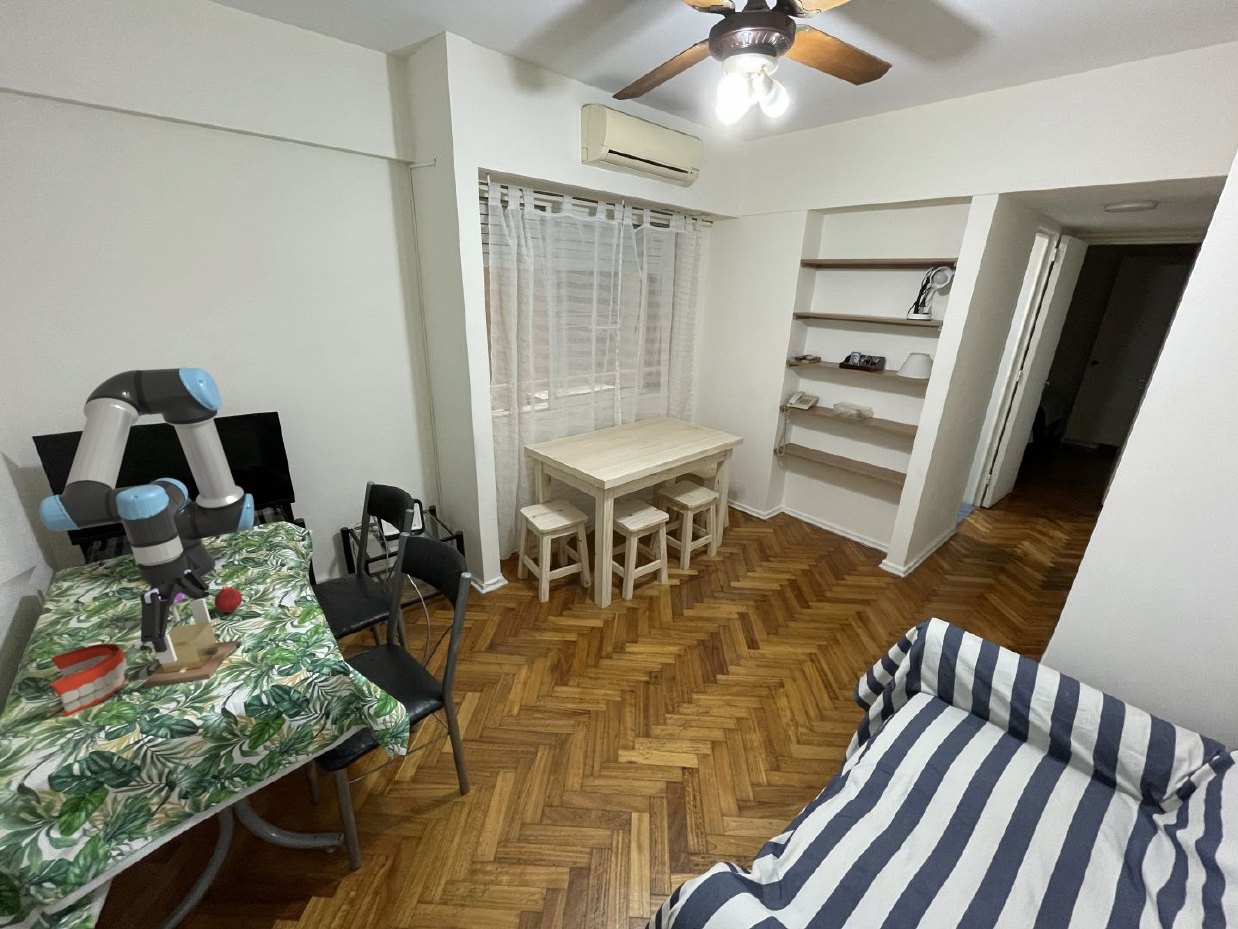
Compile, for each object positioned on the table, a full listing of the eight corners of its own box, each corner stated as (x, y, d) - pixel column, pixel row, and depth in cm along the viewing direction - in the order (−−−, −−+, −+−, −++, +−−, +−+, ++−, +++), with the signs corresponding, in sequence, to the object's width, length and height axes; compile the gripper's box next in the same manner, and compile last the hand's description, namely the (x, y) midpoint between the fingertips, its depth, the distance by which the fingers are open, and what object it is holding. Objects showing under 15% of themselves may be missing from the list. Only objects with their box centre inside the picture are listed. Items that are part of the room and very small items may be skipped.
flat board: (178, 652, 117) (171, 630, 115) (236, 644, 119) (230, 622, 118) (145, 688, 106) (136, 664, 104) (209, 678, 108) (202, 655, 106)
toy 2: (174, 629, 125) (157, 577, 121) (153, 626, 126) (136, 574, 122) (200, 614, 131) (185, 564, 127) (180, 611, 133) (165, 562, 128)
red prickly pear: (249, 609, 133) (242, 583, 131) (224, 620, 129) (216, 594, 126) (238, 603, 136) (232, 578, 134) (214, 614, 132) (206, 588, 129)
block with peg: (225, 646, 117) (218, 621, 114) (209, 666, 110) (201, 639, 108) (174, 653, 114) (166, 627, 112) (155, 673, 108) (146, 646, 106)
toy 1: (135, 691, 105) (124, 660, 102) (64, 719, 97) (50, 686, 95) (130, 664, 113) (119, 634, 111) (63, 688, 106) (50, 657, 103)
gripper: (175, 534, 115) (198, 611, 122) (95, 591, 92) (129, 683, 99) (212, 530, 117) (233, 607, 123) (142, 586, 94) (173, 677, 100)
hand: (187, 641), depth 111 cm, fingers open, 13 cm apart
